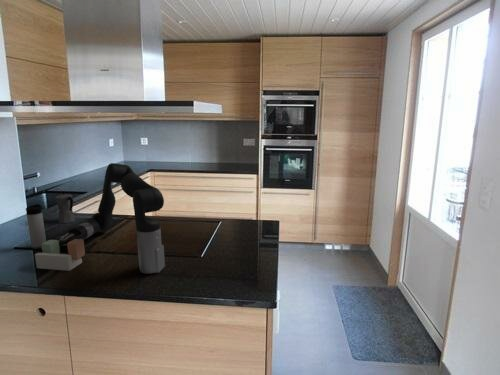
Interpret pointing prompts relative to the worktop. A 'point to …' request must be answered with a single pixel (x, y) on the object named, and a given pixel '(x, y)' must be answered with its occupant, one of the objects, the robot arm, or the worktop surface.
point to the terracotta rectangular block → (76, 248)
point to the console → (56, 261)
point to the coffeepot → (65, 208)
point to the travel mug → (36, 226)
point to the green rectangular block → (51, 247)
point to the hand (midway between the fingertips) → (55, 246)
